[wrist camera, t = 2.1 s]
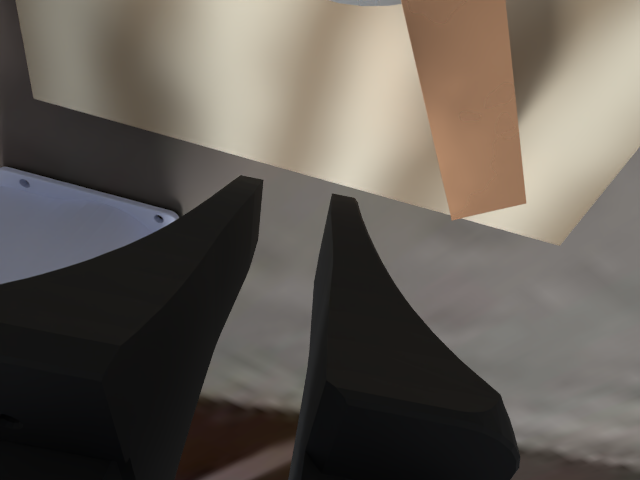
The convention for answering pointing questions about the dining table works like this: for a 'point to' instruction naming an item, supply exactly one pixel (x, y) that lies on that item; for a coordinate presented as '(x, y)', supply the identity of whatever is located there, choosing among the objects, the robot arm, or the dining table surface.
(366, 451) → the robot arm
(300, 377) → the dining table surface
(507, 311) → the dining table surface
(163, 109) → the base board
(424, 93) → the grey and orange-brown pieces
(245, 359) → the dining table surface
